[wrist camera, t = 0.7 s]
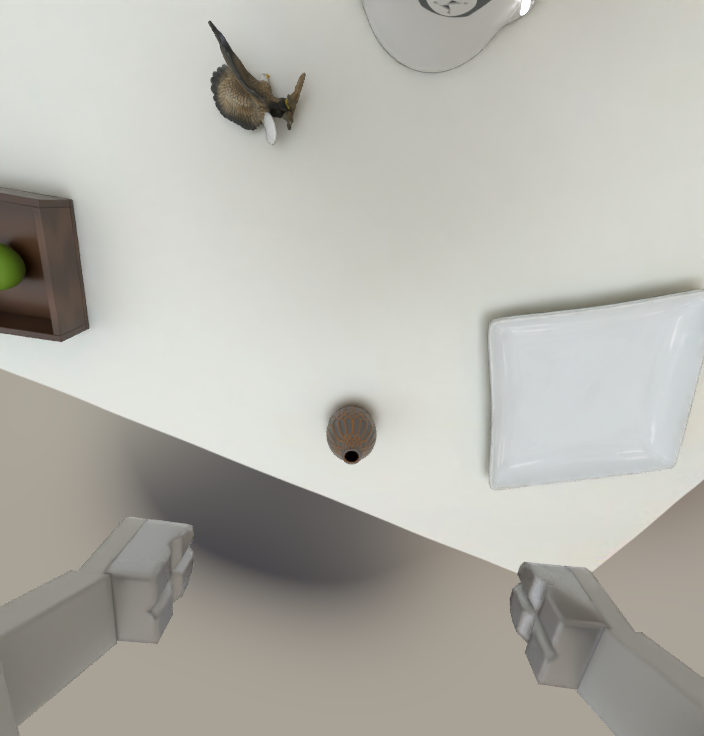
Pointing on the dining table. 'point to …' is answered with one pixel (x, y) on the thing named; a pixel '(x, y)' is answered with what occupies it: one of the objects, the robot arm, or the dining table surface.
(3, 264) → the snail figurine
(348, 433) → the vase
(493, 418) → the square plate
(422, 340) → the dining table surface
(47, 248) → the crate
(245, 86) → the eagle figurine
